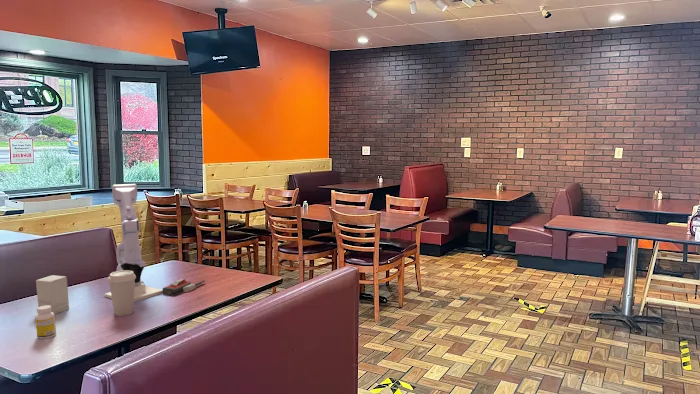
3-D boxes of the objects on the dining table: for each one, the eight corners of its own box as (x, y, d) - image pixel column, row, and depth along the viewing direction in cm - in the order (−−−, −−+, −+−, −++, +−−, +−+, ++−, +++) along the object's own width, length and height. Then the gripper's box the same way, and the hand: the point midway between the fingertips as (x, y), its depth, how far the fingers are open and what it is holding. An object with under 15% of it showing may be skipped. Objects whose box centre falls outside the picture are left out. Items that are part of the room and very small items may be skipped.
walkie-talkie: (177, 297, 208) (206, 284, 226) (176, 287, 207) (206, 274, 226) (159, 295, 211) (190, 282, 229) (158, 285, 210) (189, 272, 229)
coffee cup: (110, 318, 183) (107, 278, 181) (109, 310, 191) (106, 271, 189) (139, 314, 187) (137, 274, 185) (136, 306, 196) (134, 268, 194)
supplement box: (69, 308, 194) (67, 276, 192) (52, 315, 187) (50, 281, 185) (55, 306, 196) (52, 274, 195) (37, 313, 189) (35, 279, 188)
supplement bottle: (42, 333, 170) (40, 304, 169) (59, 332, 170) (57, 304, 169) (33, 339, 164) (31, 310, 163) (51, 339, 165) (49, 309, 164)
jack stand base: (104, 296, 208) (103, 286, 208) (139, 286, 221) (139, 276, 221) (128, 303, 199) (127, 292, 199) (163, 293, 213) (162, 282, 212)
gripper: (112, 248, 209) (113, 281, 210) (133, 253, 201) (135, 286, 202) (127, 245, 215) (129, 277, 216) (149, 249, 207) (150, 282, 208)
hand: (133, 281), depth 210 cm, fingers closed on column, 4 cm apart
